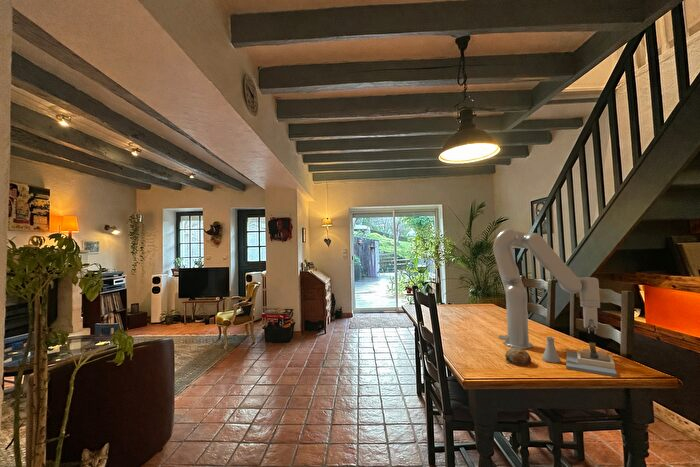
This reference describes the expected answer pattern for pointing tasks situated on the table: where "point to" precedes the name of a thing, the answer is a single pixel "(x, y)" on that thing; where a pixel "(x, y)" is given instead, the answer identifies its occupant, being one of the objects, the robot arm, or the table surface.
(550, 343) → the flask
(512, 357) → the bread roll
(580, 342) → the table surface
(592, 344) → the pin
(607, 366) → the dock board
